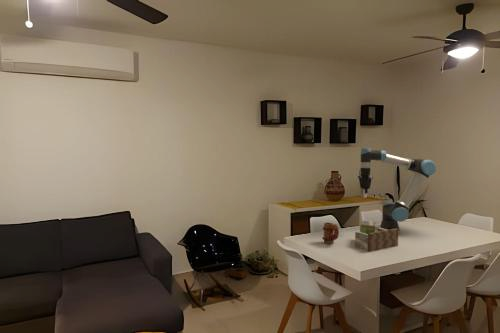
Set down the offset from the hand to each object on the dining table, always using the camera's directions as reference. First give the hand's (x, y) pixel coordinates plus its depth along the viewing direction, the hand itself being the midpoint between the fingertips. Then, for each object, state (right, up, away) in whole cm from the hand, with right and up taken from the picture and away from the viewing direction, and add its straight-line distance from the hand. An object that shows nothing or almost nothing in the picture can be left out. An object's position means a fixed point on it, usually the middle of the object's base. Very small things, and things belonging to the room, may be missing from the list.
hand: (364, 197), depth 274 cm
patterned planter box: (-2, -31, -31) cm, 44 cm away
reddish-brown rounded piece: (-33, -31, -25) cm, 52 cm away
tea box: (-6, -31, -22) cm, 39 cm away
